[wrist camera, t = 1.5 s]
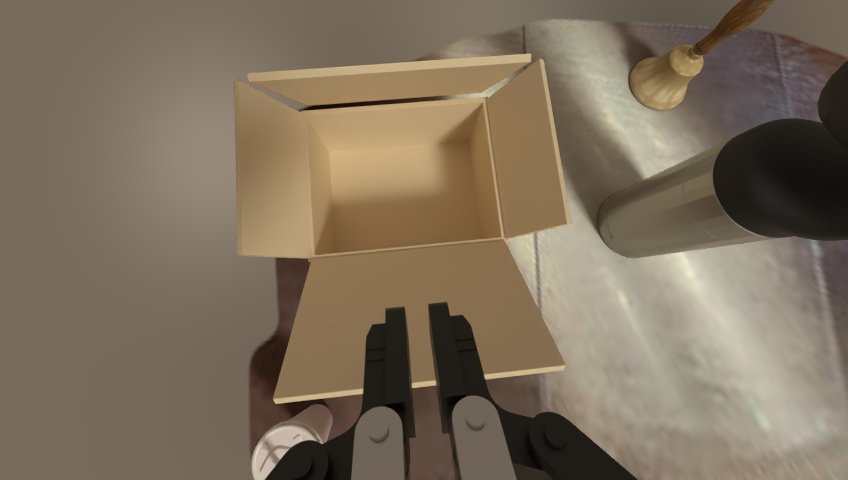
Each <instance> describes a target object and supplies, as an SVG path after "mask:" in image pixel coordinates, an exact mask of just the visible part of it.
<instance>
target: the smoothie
mask: <svg viewBox="0 0 848 480" xmlns="http://www.w3.org/2000/svg"><path fill="white" fill-rule="evenodd" d="M331 425H332V414H331V412H330V410H329V409H328V408H327V407H326V406H324V405H321V404H314V405H311V406H310V407H308V408H307V409H305V410H303V411H302V412H300V413H299V414H297V415H296V416H294V417H293V418H291V419H290V420H288V421H285V422H281V423H279V424H277V425H275V426H273V427H272V428H271V429H270V430H268V431H267V432H266V433H265V434H264V436H263V437H262V438H261V439H260V441H259V442H258V444H257V445H256V448H255V450H254V453H253V456H252V473H253V477H254V480H265V479H266V477H267V476H268V475H269V474H270V472H271V471H272V470H273V468H274V467H275V466H276V465H277V463H278V462H279V461H280V459H281V458H282V457H283V456H284V454H285V453H286V452H287V451H288V450H289V449H290V448H291V447H293V446H294V445H295V444H297V443H299V442H302V441H306V440H314V441H317V442H319V443H321V444H323V443H325V442H327V438H328V435H329V432H330V428H331Z"/></svg>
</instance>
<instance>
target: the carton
mask: <svg viewBox="0 0 848 480" xmlns="http://www.w3.org/2000/svg"><path fill="white" fill-rule="evenodd" d="M234 88H235V137H236V139H235V140H236V190H237V240H238V256H261V257H262V256H263V257H285V258H308V262H310V263H311V264H310V268H309V271H308V275H307V278H306V282H305V285H304V289H303V293H302V296H301V300H300V303H299V307H298V311H297V314H296V318H295V321H294V325H293V329H292V332H291V336H290V339H289V343H288V346H287V350H286V354H285V357H284V361H283V364H282V368H281V372H280V375H279V379H278V382H277V386H276V389H275V393H274V397H273V400H274V402H275V403H276V404H279V403H288V402H296V401H305V400H313V399H322V398H330V397H339V396H347V395H356V394H363V384H364V366H365V353H366V351H365V348H366V336H367V334H368V332H369V330H370V328H371V326H372V324H381V323H385V309H386V308H393V307H403V306H405V312H406V320H407V328H408V337H409V349H410V363H411V378H412V388H416V387H424V386H433V385H436V379H435V371H434V364H433V356H432V349H431V341H430V330H429V314H428V304H431V303H441V302H447V303H448V308H449V313H450V316H456V315H463V316H464V317H465V318H466V320H467V321H468V322H469V323H470V325H471V327H472V331H473V335H474V339H475V342H476V346H477V351H478V354H479V357H480V361H481V365H482V369H483V373H484V376H485V379H493V378H501V377H510V376H518V375H527V374H536V373H544V372H553V371H561V370H564V369H565V366H566V365H565V363H564V361H563V358H562V356H561V354H560V352H559V350H558V348H557V346H556V344H555V342H554V340H553V338H552V336H551V334H550V332H549V330H548V328H547V326H546V324H545V322H544V320H543V318H542V316H541V314H540V312H539V310H538V308H537V305H536V303H535V301H534V299H533V297H532V295H531V293H530V291H529V289H528V287H527V285H526V283H525V281H524V279H523V277H522V275H521V273H520V271H519V269H518V267H517V265H516V263H515V261H514V259H513V257H512V255H511V253H510V250H509V248H508V246H507V244H506V243H508V239H510V238H515V237H519V236H523V235H527V234H531V233H535V232H539V231H543V230H548V229H552V228H556V227H560V226H564V225H568V224H571V218H570V212H569V206H568V200H567V194H566V189H565V183H564V177H563V171H562V165H561V159H560V153H559V147H558V141H557V136H556V130H555V124H554V118H553V112H552V106H551V100H550V94H549V88H548V82H547V77H546V71H545V65H544V60H542V59H540V58H539V59H538V60H537V61H535V62H534V63H533V64H532V65H530V66H529V67H528V68H526V69H525V70H524V71H523V72H521V73H520V74H519V75H517V76H516V77H515V78H514V79H512V80H511V81H510V82H508V83H507V84H506V85H504V86H503V87H502V88H501V89H499V90H498V91H497V92H495V93H494V94H493V95H492V96H490V97H489V98H488V97H480V98H466V99H453V100H440V101H427V102H414V103H400V104H387V105H374V106H361V107H348V108H334V109H321V110H308V111H301V112H299V111H297V110H295V109H293V108H291V107H289V106H287V105H286V104H284V103H282V102H280V101H278V100H276V99H274V98H272V97H271V96H269V95H267V94H265V93H263V92H261V91H259V90H257V89H255V88H253V87H252V86H250V85H248V84H246V83H244V82H242V81H240V80H237V81H236V82H235V83H234Z"/></svg>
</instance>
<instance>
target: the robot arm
mask: <svg viewBox="0 0 848 480" xmlns="http://www.w3.org/2000/svg"><path fill="white" fill-rule="evenodd" d="M818 113H819V117H820V119H821V121H822V122H823V123H819V122H815V121H811V120H805V119H780V120H774V121H771V122H767V123H764V124H762V125H759V126H757V127H754V128H752V129H750V130H748V131H746V132H744V133H742V134H740V135H737V136H736V137H734V138H731V139H729V140H727V141H725V142H723V143H721V144H719V145H717V146H715V147H712V148H710V149H708V150H706V151H704V152H702V153H700V154H698V155H696V156H694V157H692V158H690V159H687V160H685V161H683V162H681V163H679V164H677V165H675V166H673V167H670V168H668V169H666V170H664V171H662V172H660V173H658V174H656V175H654V176H651V177H649V178H647V179H645V180H643V181H641V182H639V183H637V184H634V185H632V186H630V187H628V188H626V189H624V190H622V191H620V192H617V193H615V194H614V195H612V196H610V197H609V198H608V199H607V200H606V201H605V202H604V203H603V205H602V206H601V209H600V211H599V215H598V228H599V231H600V234H601V236H602V238H603V240H604V242H605V243H606V244H607V245H608V247H610V248H611V249H612V250H613V251H614V252H616V253H618V254H620V255H622V256H625V257H629V258H640V257H648V256H655V255H663V254H671V253H678V252H685V251H692V250H699V249H706V248H713V247H721V246H728V245H735V244H742V243H748V242H755V241H762V240H769V239H776V238H783V237H791V236H797V237H801V238H806V239H812V240H824V241H836V240H848V61H847V62H845V63H844V64H843V65H842V66H841V67H840V68H839V69H838V70H837V71H836V72H835V73H834V74H833V75H832V76H831V78H830V79H829V80H828V82H827V83H826V85H825V87H824V88H823V90H822V91H821V94H820V97H819V101H818ZM428 314H429V330H430V341H431V349H432V356H433V364H434V371H435V379H436V387H437V394H438V402H439V409H440V417H441V424H442V432H443V434H445V433H449V435H450V441H451V448H452V462H453V469H454V476H455V480H637V479H636V478H635V477H634V476H633V475H632V474H630V473H629V472H628V471H627V470H626V469H625V468H623V467H622V466H621V465H620V464H619V463H618V462H616V461H615V460H614V459H613V458H612V457H611V456H609V455H608V454H607V453H606V452H605V451H604V450H602V449H601V448H600V447H599V446H598V445H597V444H595V443H594V442H593V441H592V440H591V439H590V438H588V437H587V436H586V435H585V434H584V433H583V432H581V431H580V430H579V429H578V428H577V427H576V426H574V425H573V424H572V423H571V422H570V421H569V420H567V419H566V418H565V417H563V416H561V415H559V414H556V413H553V412H543V413H540V414H538V415H536V416H535V417H534V418H531V417H526V416H522V415H517V414H513V413H510V412H508V411H505V410H504V409H502V408H501V407H499V406H498V405H497V404H496V403H495V402H494V401H493V399H492V398H491V396H490V394H489V391H488V388H487V384H486V380H485V376H484V373H483V369H482V365H481V361H480V357H479V354H478V351H477V346H476V342H475V339H474V335H473V331H472V327H471V325H470V323H469V322H468V321H467V320H466V318H465V317H464V316H463V315H456V316H450V313H449V308H448V303H447V302H441V303H431V304H428ZM365 351H366V353H365V366H364V384H363V402H362V410H361V413H360V416H359V418H358V419H357V421H356V423H355V424H354V425H353V426H352V427H351V428H350V429H349V430H348V431H346V432H345V433H343V434H342V435H340V436H338V437H336V438H334V439H332V440H329V441H327V442H325V443H323V444H321V443H319V442H317V441H314V440H306V441H302V442H299V443H297V444H295V445H294V446H293V447H291V448H290V449H289V450H288V451H287V452H286V453H285V454H284V456H283V457H282V458H281V459H280V461H279V462H278V463H277V465H276V466H275V467H274V468H273V470H272V471H271V472H270V474H269V475H268V476H267V477H266V479H265V480H410V443H409V438H413V437H416V435H415V421H414V407H413V392H412V378H411V363H410V349H409V337H408V328H407V320H406V312H405V306H403V307H393V308H386V309H385V323H381V324H372V326H371V328H370V330H369V332H368V334H367V336H366V348H365Z"/></svg>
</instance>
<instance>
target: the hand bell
mask: <svg viewBox="0 0 848 480" xmlns="http://www.w3.org/2000/svg"><path fill="white" fill-rule="evenodd" d="M773 1H774V0H741V1H740V2H739V3H738V4H736V5H735V6H734V7H733V8H732V9H731V10H730V11H729V12H728V13H727V14H726V15H725V16H724V17H723V19H722V20H721V21H720V23H719V24H718V26H717V27H716V28H715V29H714V30H713V31H712V32H711V33H710V34H708V35H707V36H706V37H705V38H703V39H702V40H701V41H700V42H698V43H697V44H695V45H694V46H691V45H680V46H677V47H675V48H674V49H673V50H671V51H670V52H668V53H667V54H665V55H664V56H662V57H650V58H647V59H644V60H642V61H640V62H639V63H638V64H636V66H635V67H634V68H633V70H632V72H631V75H630V87H631V90H632V93H633V95H634V96H635V98H636V99H637V100H638V101H639V102H640V103H641V104H643V105H644V106H646V107H648V108H650V109H653V110H658V111H664V110H669V109H672V108H674V107H676V106H677V105H678V104H679V103H680V102H681V101H682V100H683V98H684V96H685V94H686V90H687V84H688V83H689V81H690V80H691V79H692V78H693V77H694V76H695V75H696V74H698V73H699V72H700V70H701V69H702V67H703V57H702V56H703V55H705V54H706V53H707V52H708V51H710V50H711V49H712V48H713V47H714V46H716V45H717V44H718V43H719V42H720V41H722V40H723V39H725V38H726V37H728V36H731V35H733V34H735V33H737V32H739V31H741V30H742V29H744V28H745V27H747V26H748V25H750V24H751V23H752V22H754V21H755V20H756V19H758V18H759V17H760V16H761V15H762V14H763V13H764V12H765V11H766V10H767V9H768V7H769V6H770V5H771V4H772V2H773Z"/></svg>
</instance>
